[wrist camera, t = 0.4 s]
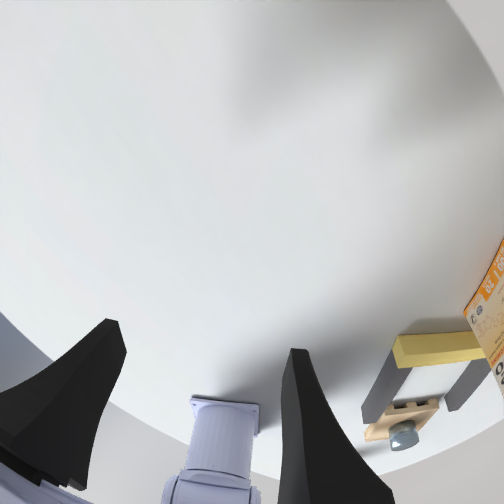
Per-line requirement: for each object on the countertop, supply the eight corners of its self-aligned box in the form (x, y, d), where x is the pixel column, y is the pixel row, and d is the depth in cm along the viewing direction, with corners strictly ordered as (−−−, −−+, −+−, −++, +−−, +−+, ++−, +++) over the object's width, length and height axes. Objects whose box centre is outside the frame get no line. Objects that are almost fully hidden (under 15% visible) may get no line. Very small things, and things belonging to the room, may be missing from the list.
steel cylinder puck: (408, 430, 32) (411, 448, 29) (384, 433, 32) (386, 452, 30) (419, 418, 30) (423, 437, 27) (394, 421, 30) (397, 441, 28)
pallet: (412, 423, 34) (414, 434, 33) (363, 429, 35) (365, 441, 33) (435, 395, 30) (439, 407, 29) (382, 402, 31) (385, 415, 29)
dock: (453, 395, 30) (458, 409, 28) (361, 407, 31) (363, 424, 29) (501, 327, 23) (510, 342, 21) (398, 335, 24) (404, 355, 22)
